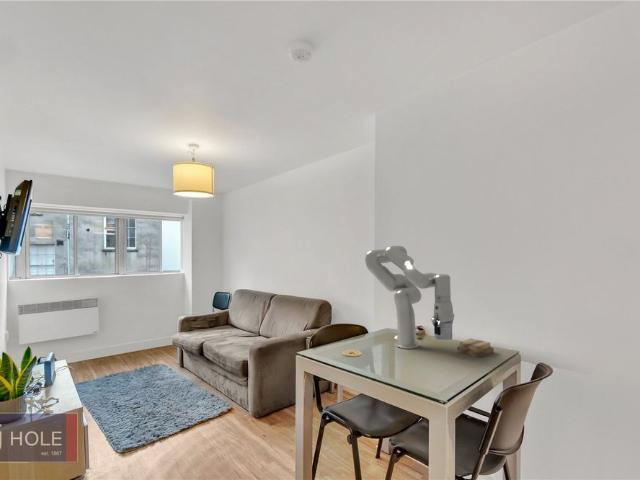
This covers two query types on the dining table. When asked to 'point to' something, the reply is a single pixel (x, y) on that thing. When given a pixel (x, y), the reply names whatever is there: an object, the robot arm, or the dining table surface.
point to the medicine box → (445, 331)
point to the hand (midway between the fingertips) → (443, 332)
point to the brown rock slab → (475, 348)
